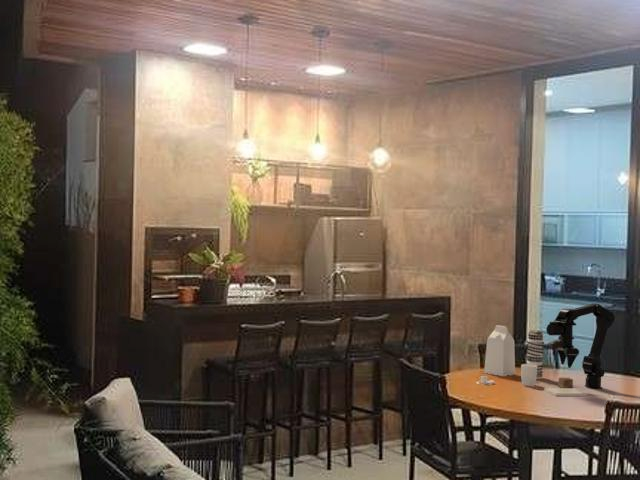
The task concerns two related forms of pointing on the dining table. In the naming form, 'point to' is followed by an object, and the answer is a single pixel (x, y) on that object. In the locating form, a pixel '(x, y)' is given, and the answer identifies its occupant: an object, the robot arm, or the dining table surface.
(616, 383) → the dining table surface
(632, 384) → the dining table surface
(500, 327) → the milk
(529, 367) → the white cup
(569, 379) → the walnut block
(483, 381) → the teacup and saucer
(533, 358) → the decorative candle
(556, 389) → the plate
